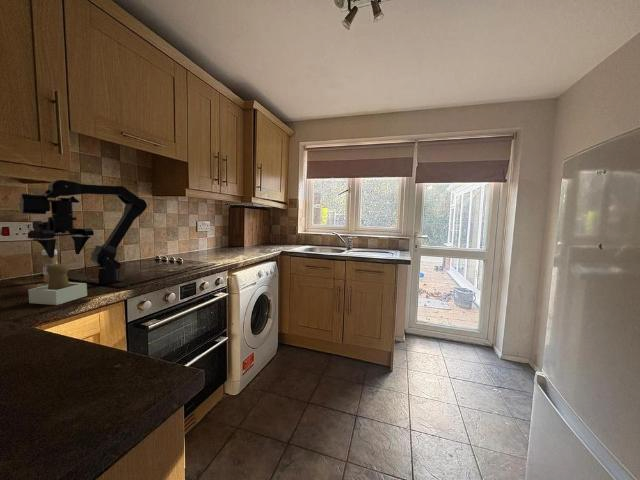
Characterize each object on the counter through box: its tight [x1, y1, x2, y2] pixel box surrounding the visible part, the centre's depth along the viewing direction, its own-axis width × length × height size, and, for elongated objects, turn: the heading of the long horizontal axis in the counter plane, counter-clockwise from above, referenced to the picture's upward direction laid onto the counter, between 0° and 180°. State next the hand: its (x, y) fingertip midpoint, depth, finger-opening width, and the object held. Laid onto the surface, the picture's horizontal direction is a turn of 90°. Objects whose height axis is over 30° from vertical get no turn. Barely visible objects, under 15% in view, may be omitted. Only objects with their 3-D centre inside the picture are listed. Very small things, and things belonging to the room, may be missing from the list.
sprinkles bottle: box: [41, 249, 59, 283], centre depth 111 cm, size 5×5×14 cm
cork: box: [47, 263, 70, 290], centre depth 89 cm, size 6×6×11 cm
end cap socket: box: [27, 281, 88, 306], centre depth 90 cm, size 10×10×4 cm
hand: (64, 256), depth 100 cm, fingers open, 9 cm apart
